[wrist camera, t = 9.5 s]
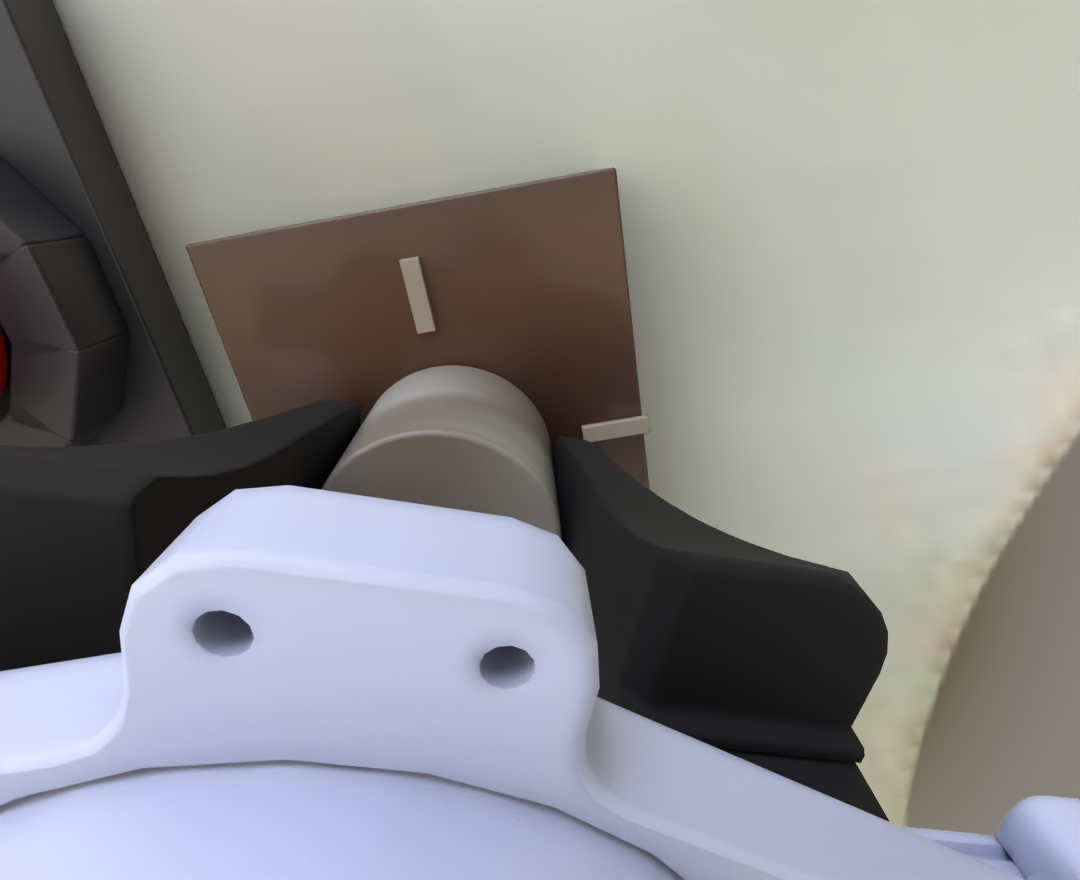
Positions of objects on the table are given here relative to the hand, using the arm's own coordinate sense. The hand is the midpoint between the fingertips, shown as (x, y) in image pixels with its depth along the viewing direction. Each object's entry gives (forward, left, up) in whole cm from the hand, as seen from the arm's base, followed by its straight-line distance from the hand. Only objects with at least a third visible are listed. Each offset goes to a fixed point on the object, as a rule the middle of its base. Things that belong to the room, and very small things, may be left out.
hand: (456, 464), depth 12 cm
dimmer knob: (0, 0, 0) cm, 0 cm away
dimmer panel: (0, 0, -3) cm, 3 cm away
